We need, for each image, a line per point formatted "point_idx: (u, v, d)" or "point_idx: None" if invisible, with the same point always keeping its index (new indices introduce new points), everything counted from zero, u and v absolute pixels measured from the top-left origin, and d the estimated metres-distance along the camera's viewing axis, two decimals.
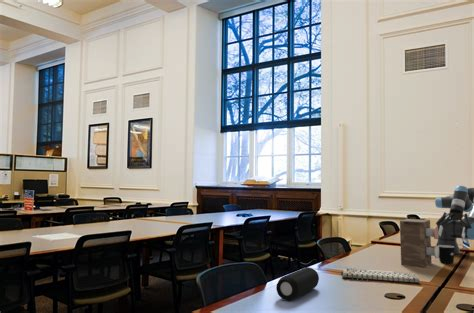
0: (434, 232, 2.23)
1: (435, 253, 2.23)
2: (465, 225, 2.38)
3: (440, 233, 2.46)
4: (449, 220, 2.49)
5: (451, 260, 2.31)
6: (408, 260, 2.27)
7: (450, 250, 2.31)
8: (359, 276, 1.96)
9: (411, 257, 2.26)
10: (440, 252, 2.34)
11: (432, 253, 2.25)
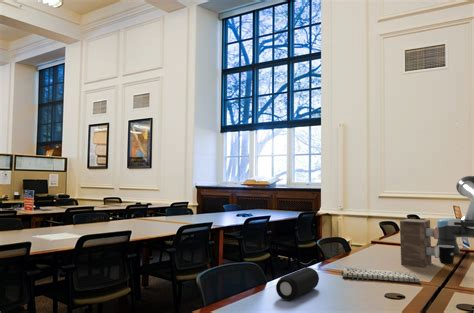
0: (434, 232, 2.23)
1: (435, 253, 2.23)
2: None
3: None
4: None
5: (451, 260, 2.31)
6: (408, 260, 2.27)
7: (450, 250, 2.31)
8: (359, 276, 1.96)
9: (411, 257, 2.26)
10: (440, 252, 2.34)
11: (432, 253, 2.25)
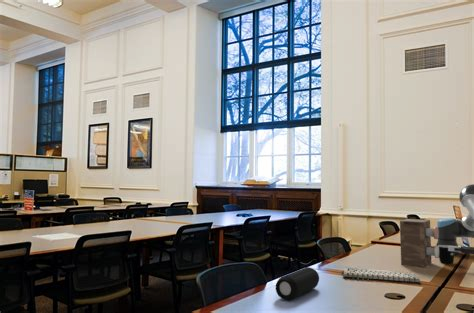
0: (434, 232, 2.23)
1: (435, 253, 2.23)
2: None
3: None
4: None
5: (451, 260, 2.31)
6: (408, 260, 2.27)
7: None
8: (360, 276, 1.97)
9: (411, 257, 2.26)
10: (440, 252, 2.34)
11: (432, 253, 2.25)
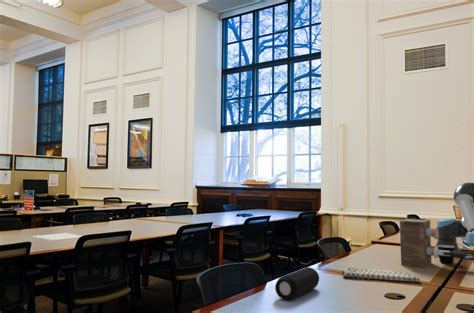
0: (434, 232, 2.23)
1: (434, 253, 2.23)
2: None
3: None
4: (463, 254, 2.16)
5: (451, 260, 2.31)
6: (408, 260, 2.27)
7: None
8: (360, 275, 1.97)
9: (411, 257, 2.26)
10: None
11: (431, 253, 2.25)
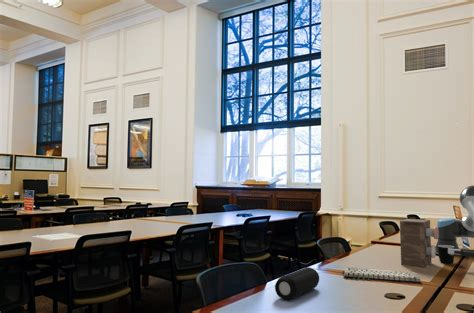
0: (434, 232, 2.23)
1: (432, 253, 2.24)
2: None
3: None
4: None
5: (451, 260, 2.31)
6: (408, 260, 2.27)
7: None
8: (360, 275, 1.97)
9: (411, 257, 2.26)
10: (440, 252, 2.34)
11: (429, 253, 2.26)
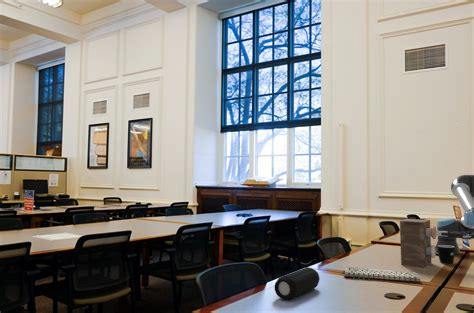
0: (432, 232, 2.24)
1: (432, 253, 2.24)
2: None
3: None
4: (461, 233, 2.17)
5: (451, 260, 2.31)
6: (408, 260, 2.27)
7: (450, 250, 2.31)
8: (361, 275, 1.98)
9: (411, 257, 2.26)
10: (440, 252, 2.34)
11: (429, 253, 2.26)
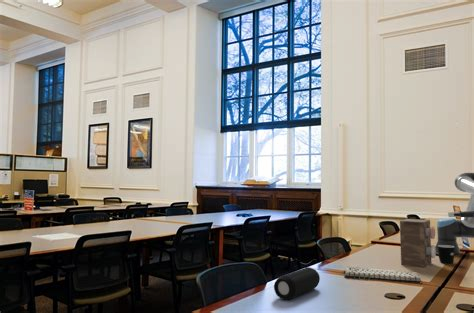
0: (431, 232, 2.25)
1: (432, 253, 2.24)
2: None
3: None
4: (473, 213, 2.16)
5: (451, 260, 2.31)
6: (408, 260, 2.27)
7: (450, 250, 2.31)
8: (361, 275, 1.98)
9: (411, 257, 2.26)
10: (440, 252, 2.34)
11: (429, 253, 2.26)
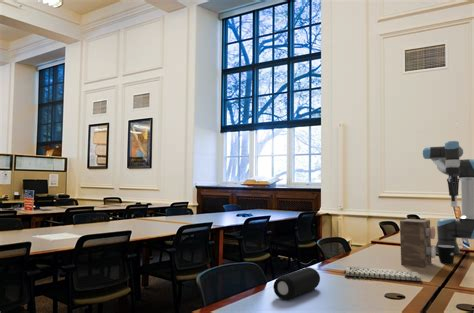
0: (431, 232, 2.25)
1: (432, 253, 2.24)
2: (456, 193, 2.30)
3: None
4: None
5: (451, 260, 2.31)
6: (408, 260, 2.27)
7: (450, 250, 2.31)
8: (361, 274, 1.99)
9: (411, 257, 2.26)
10: (440, 252, 2.34)
11: (429, 253, 2.26)
